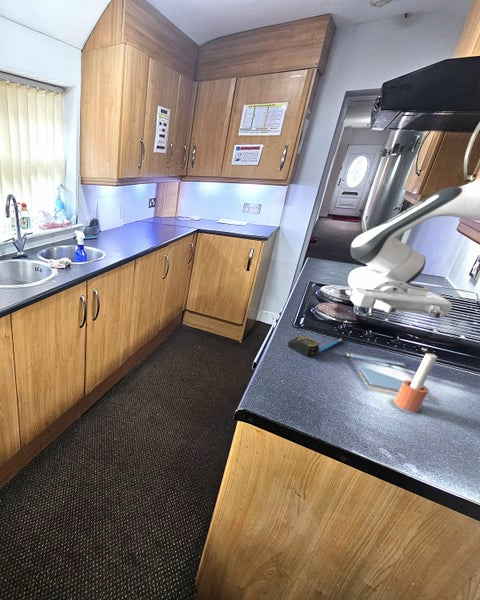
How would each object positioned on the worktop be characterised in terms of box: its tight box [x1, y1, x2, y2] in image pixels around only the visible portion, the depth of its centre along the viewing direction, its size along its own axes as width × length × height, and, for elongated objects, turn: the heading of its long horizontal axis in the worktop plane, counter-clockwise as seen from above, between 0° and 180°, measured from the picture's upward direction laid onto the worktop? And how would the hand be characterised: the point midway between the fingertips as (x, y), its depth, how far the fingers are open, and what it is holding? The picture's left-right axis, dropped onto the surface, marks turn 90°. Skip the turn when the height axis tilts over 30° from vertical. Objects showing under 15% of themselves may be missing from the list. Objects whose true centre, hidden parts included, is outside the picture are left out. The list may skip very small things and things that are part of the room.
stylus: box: [410, 352, 438, 390], centre depth 75 cm, size 2×2×14 cm
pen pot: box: [393, 380, 430, 413], centre depth 77 cm, size 4×4×6 cm
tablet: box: [344, 352, 439, 401], centre depth 90 cm, size 14×18×1 cm
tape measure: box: [287, 336, 320, 358], centre depth 100 cm, size 7×7×4 cm
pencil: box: [318, 338, 343, 353], centre depth 103 cm, size 1×17×1 cm, turn 121°
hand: (415, 312), depth 81 cm, fingers open, 8 cm apart
